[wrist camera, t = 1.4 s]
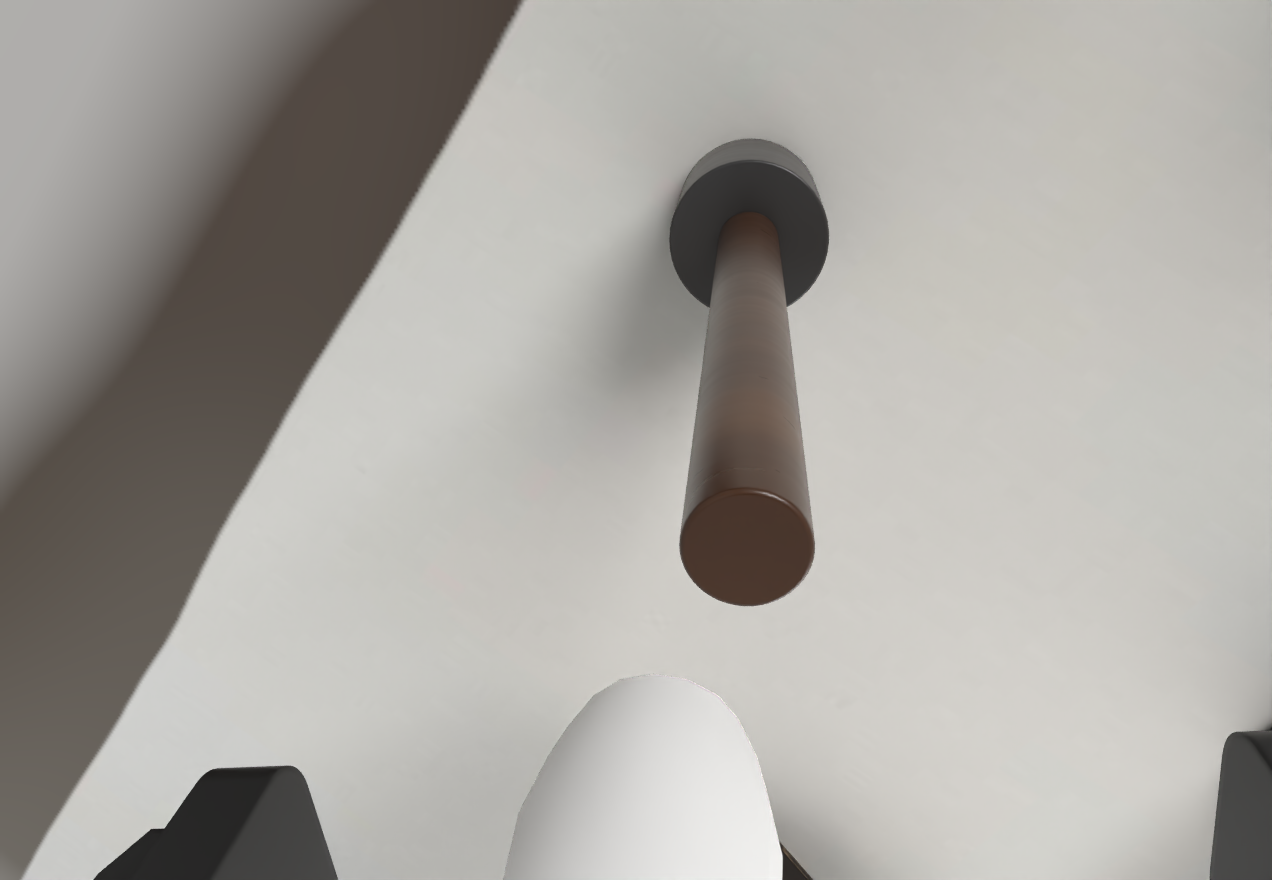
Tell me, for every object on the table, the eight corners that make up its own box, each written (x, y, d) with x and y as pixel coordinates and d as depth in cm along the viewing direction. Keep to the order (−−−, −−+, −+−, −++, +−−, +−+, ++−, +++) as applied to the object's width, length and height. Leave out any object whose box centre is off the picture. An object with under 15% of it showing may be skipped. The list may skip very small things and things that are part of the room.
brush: (671, 147, 35) (540, 398, 13) (814, 129, 34) (927, 362, 12) (687, 284, 37) (596, 706, 15) (823, 270, 36) (935, 690, 14)
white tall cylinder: (560, 528, 41) (400, 978, 22) (724, 460, 39) (700, 889, 20) (642, 666, 44) (559, 1182, 25) (800, 608, 42) (843, 1118, 23)
